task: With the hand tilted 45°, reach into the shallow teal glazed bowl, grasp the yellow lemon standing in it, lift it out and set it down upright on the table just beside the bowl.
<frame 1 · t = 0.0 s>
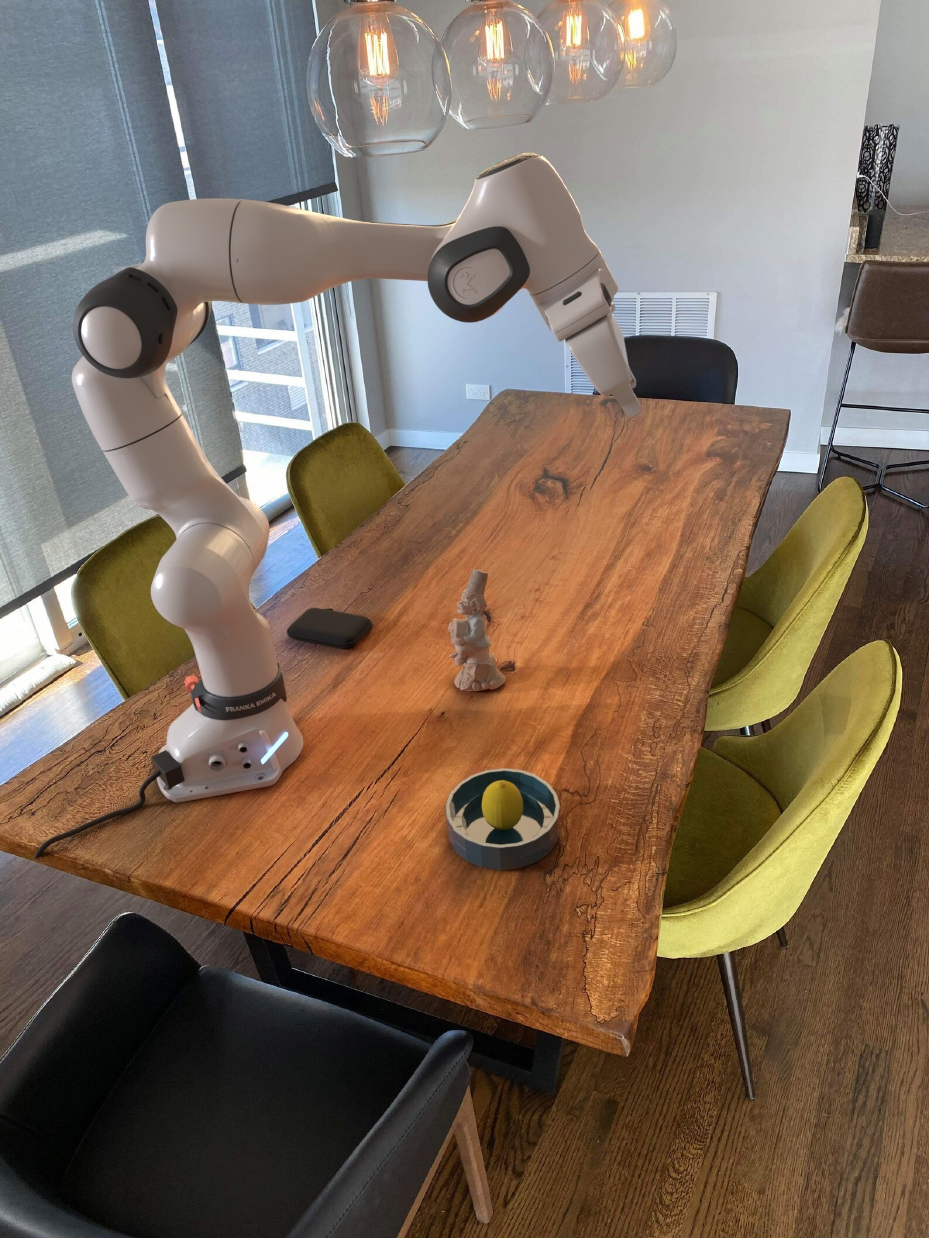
hand: (633, 400, 108), 54 cm above the table, tool tilted 30°, fingers open, 8 cm apart
bowl: (503, 830, 124), on the table
figurine: (478, 682, 155), on the table
lemon: (503, 828, 124), resting on bowl
carrying case: (332, 634, 171), on the table
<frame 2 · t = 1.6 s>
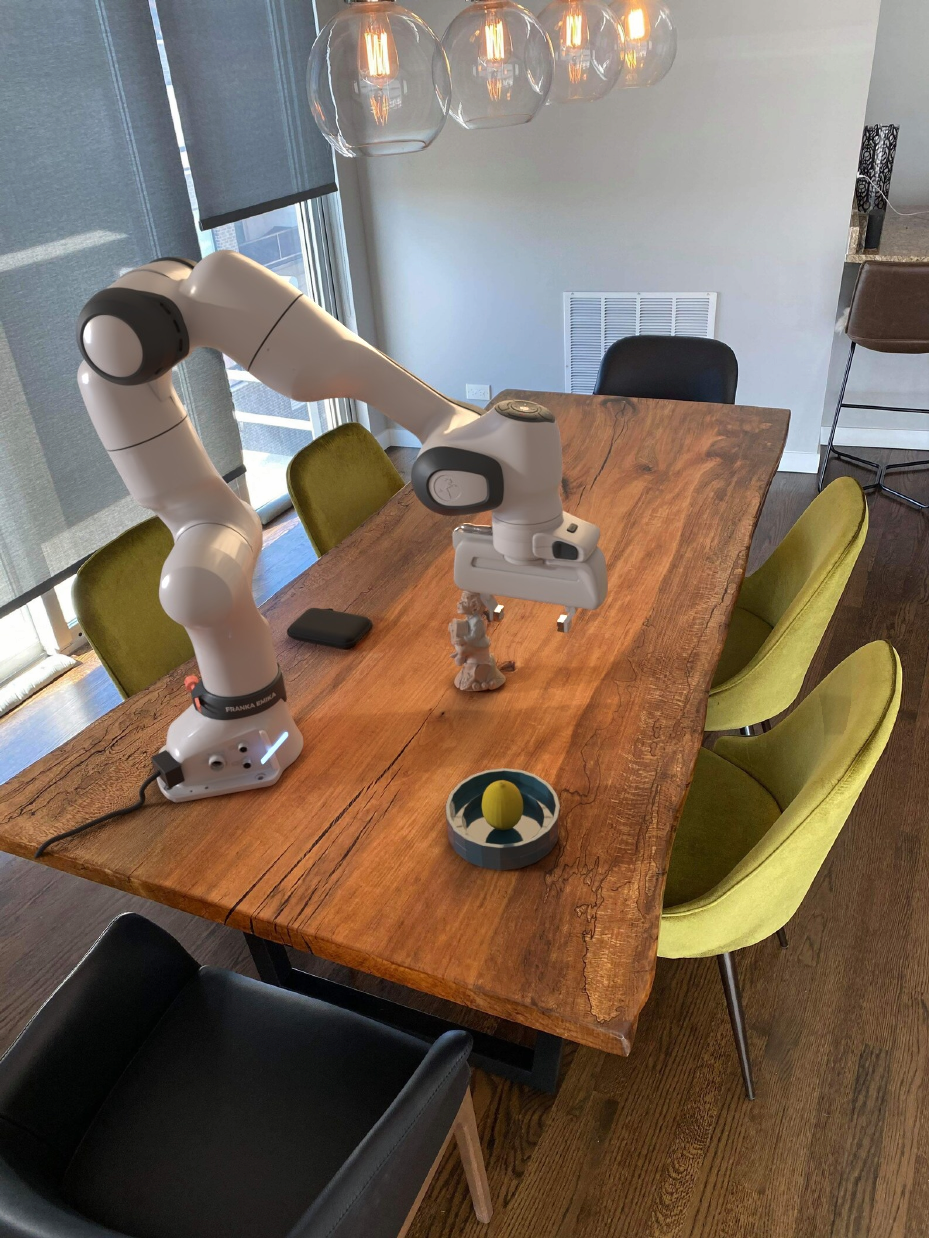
hand: (530, 625, 121), 25 cm above the table, tool pointing down, fingers open, 8 cm apart
nothing on the table moved.
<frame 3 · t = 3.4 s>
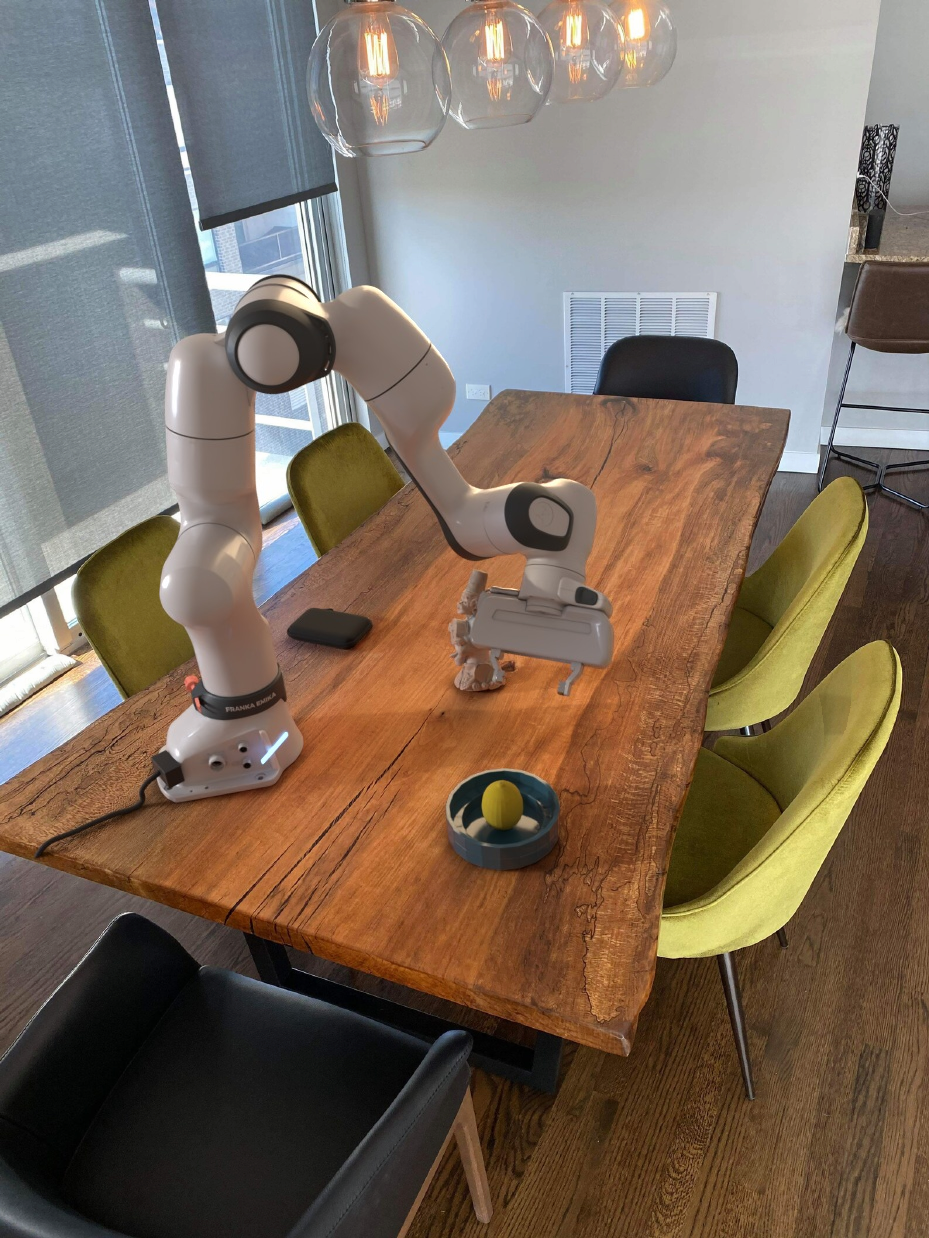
hand: (530, 689, 126), 15 cm above the table, tool tilted 45°, fingers open, 8 cm apart
nothing on the table moved.
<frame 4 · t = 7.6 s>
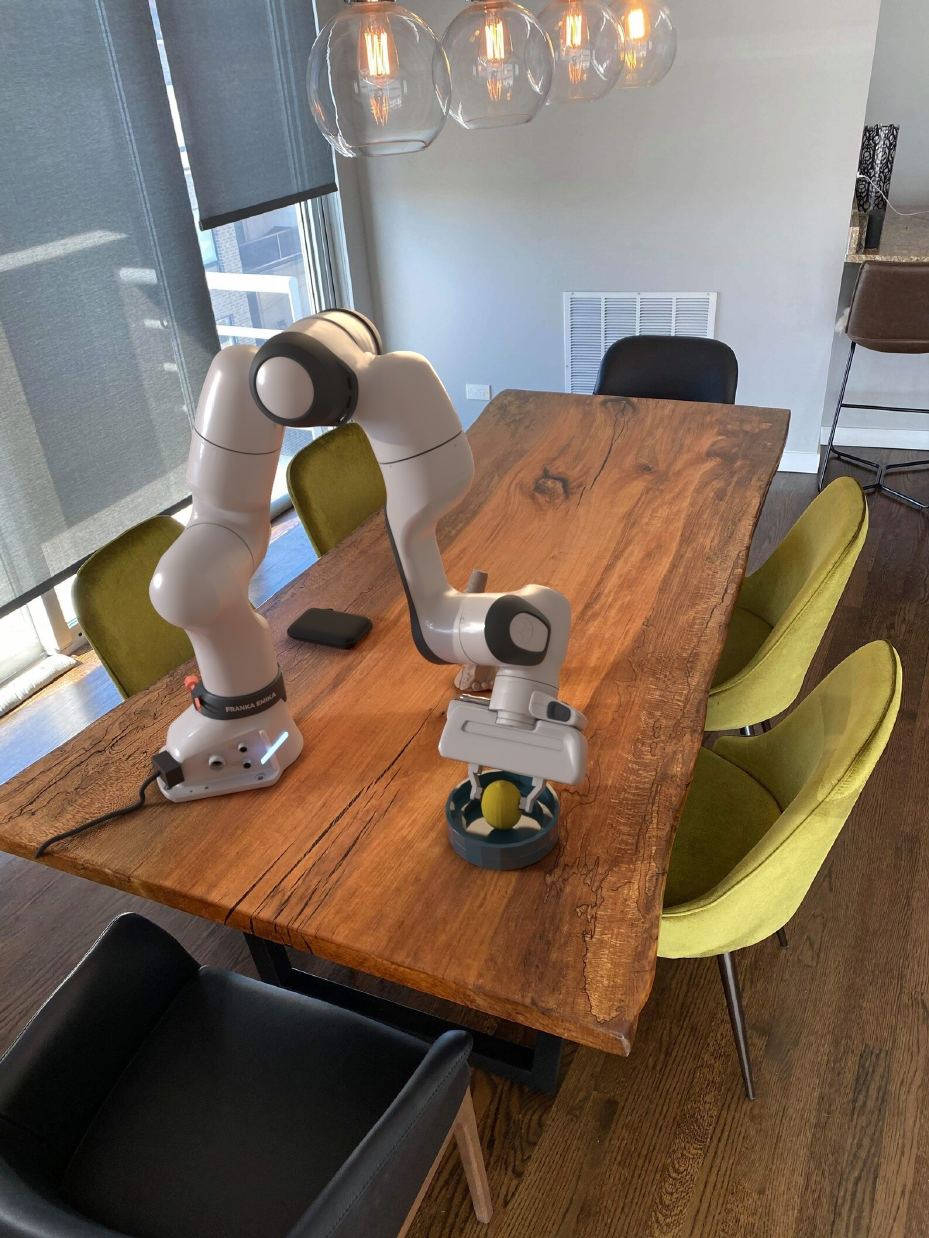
hand: (500, 806, 121), 5 cm above the table, tool tilted 45°, fingers closed on lemon, 5 cm apart
lemon: (503, 828, 124), resting on bowl, touching gripper
everything else where it was.
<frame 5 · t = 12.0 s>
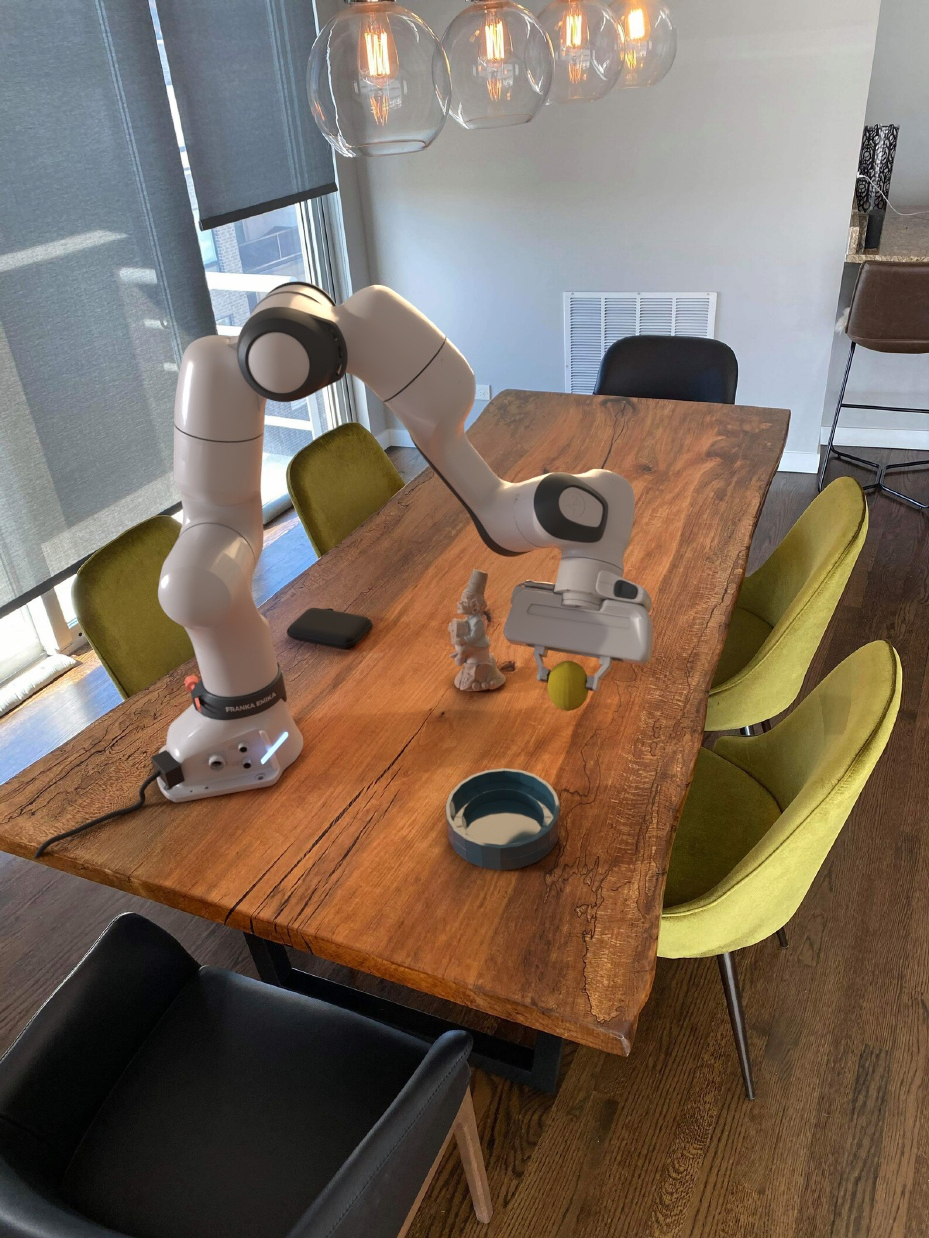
hand: (567, 686, 122), 17 cm above the table, tool tilted 45°, fingers closed on lemon, 5 cm apart
lemon: (568, 711, 125), point 13 cm above the table, touching gripper
everything else where it was.
when the fingers open (4 cm above the table, at t = 16.5 s): lemon stays where it is, on the table.
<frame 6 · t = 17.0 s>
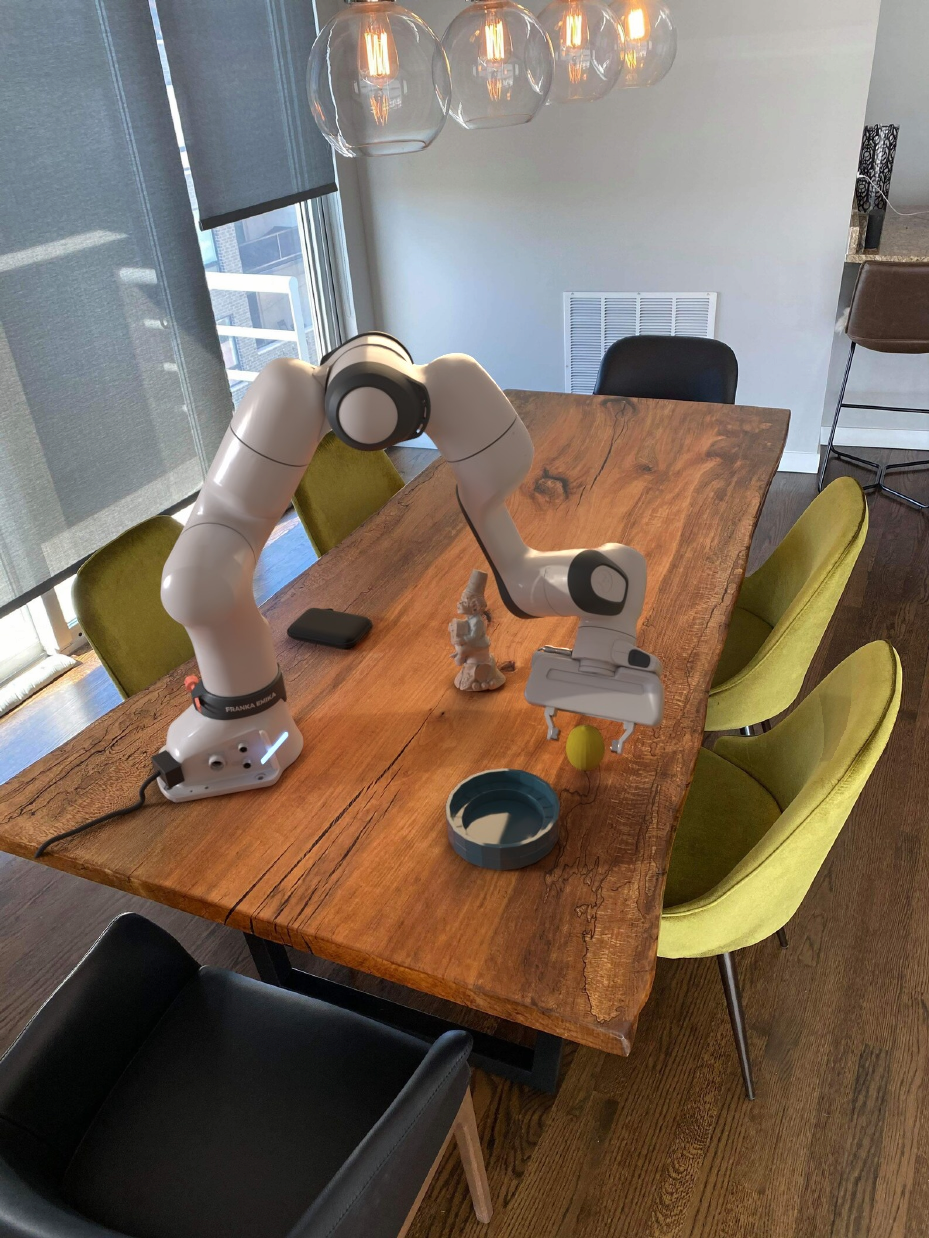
hand: (584, 747, 131), 5 cm above the table, tool tilted 45°, fingers open, 8 cm apart
lemon: (584, 770, 134), on the table
everything else where it was.
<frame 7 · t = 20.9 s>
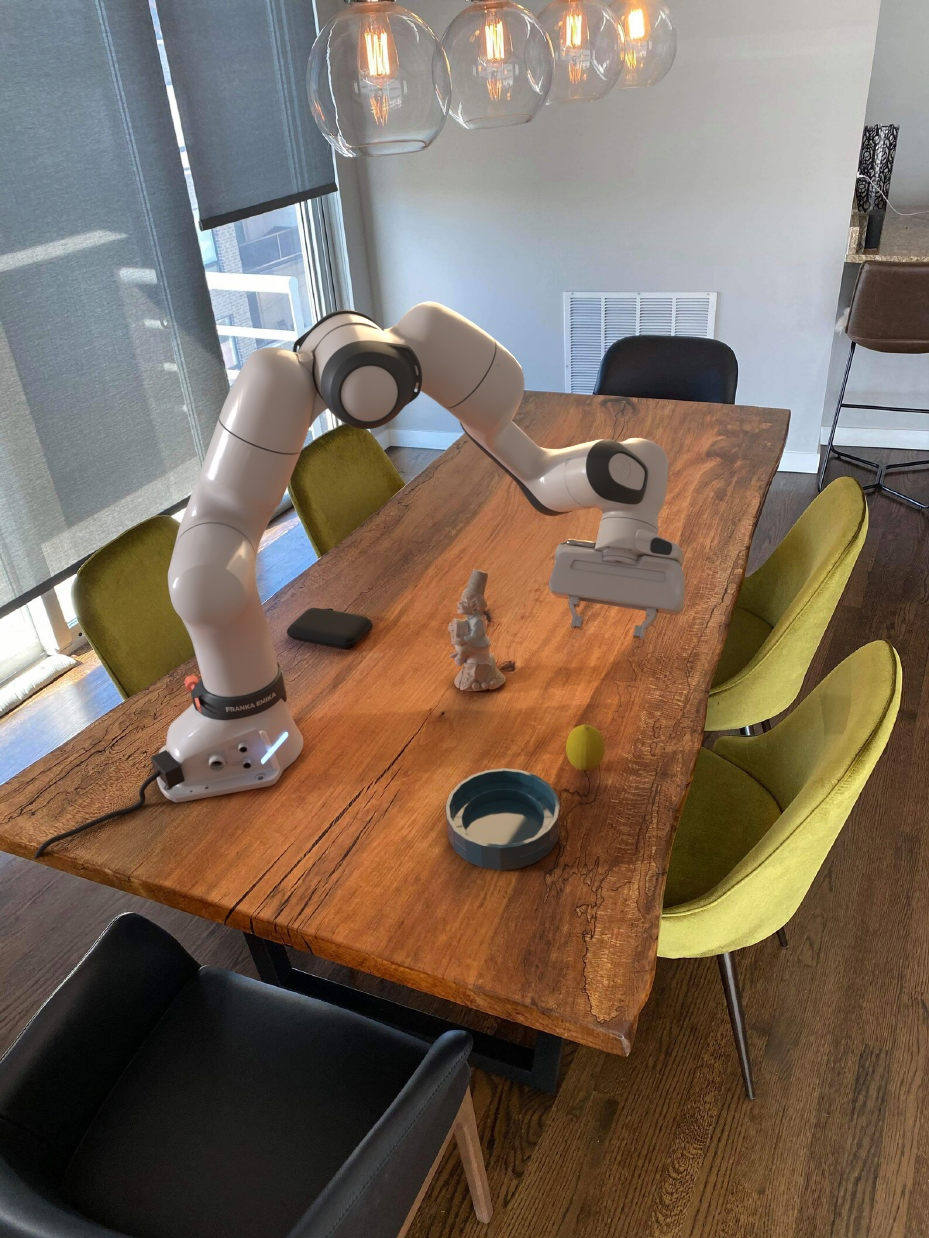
hand: (607, 633, 135), 16 cm above the table, tool tilted 45°, fingers open, 8 cm apart
nothing on the table moved.
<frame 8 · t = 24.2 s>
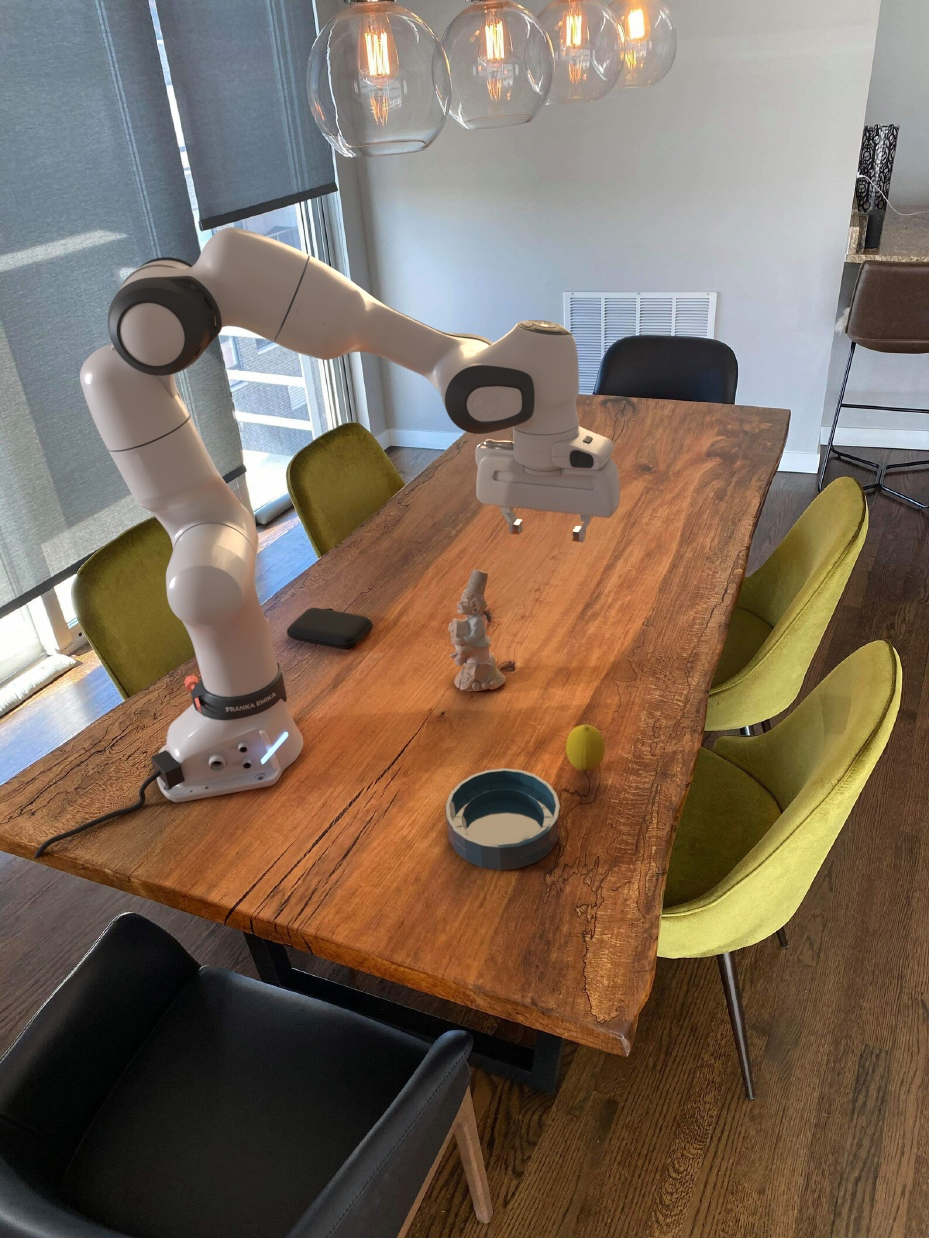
hand: (547, 536, 131), 31 cm above the table, tool pointing down, fingers open, 8 cm apart
nothing on the table moved.
at the end: lemon touching table; lemon inside the target area (0.0 cm from its centre), on the table; lemon tilted 0° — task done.
